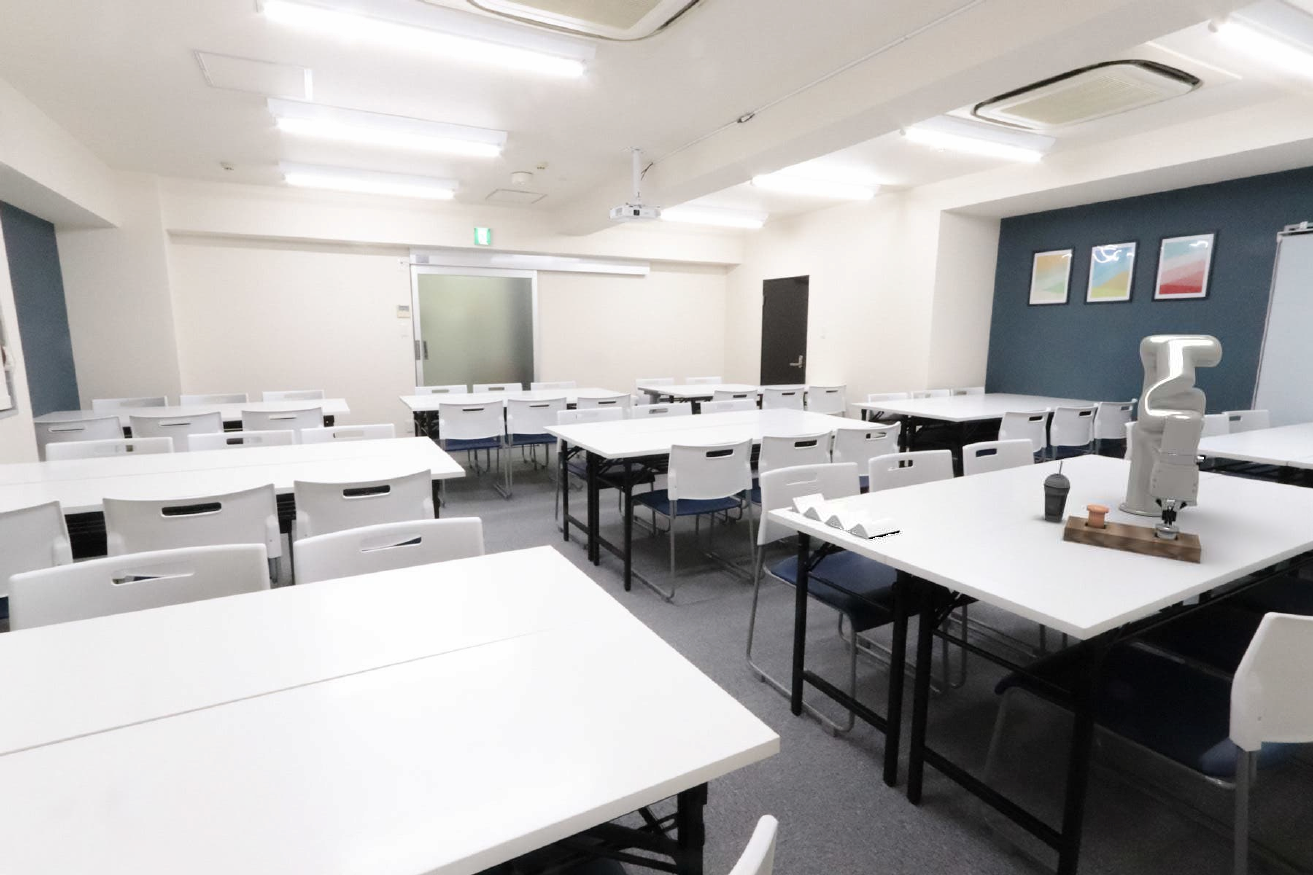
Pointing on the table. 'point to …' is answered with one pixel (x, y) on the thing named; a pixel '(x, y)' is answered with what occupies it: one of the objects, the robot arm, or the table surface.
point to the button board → (1133, 539)
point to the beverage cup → (1056, 496)
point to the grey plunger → (1167, 531)
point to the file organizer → (844, 516)
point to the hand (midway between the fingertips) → (1167, 523)
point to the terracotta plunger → (1096, 516)
